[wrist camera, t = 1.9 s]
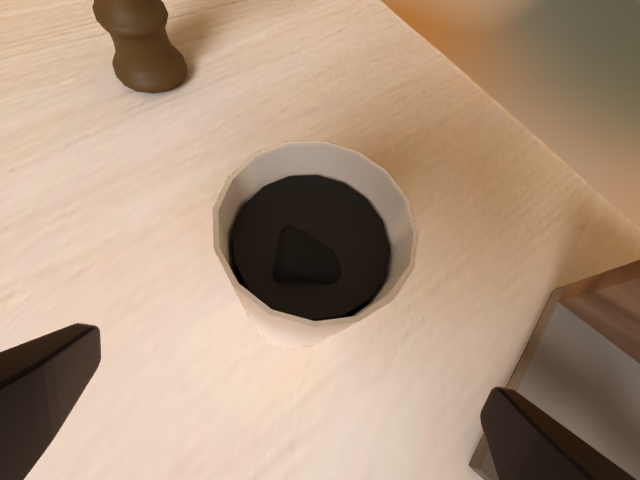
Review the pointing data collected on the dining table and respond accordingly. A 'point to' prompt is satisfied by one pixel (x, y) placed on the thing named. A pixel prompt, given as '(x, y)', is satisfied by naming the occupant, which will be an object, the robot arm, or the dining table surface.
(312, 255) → the white cup
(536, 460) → the robot arm
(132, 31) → the kendama
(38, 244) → the dining table surface
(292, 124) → the dining table surface
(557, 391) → the holder
